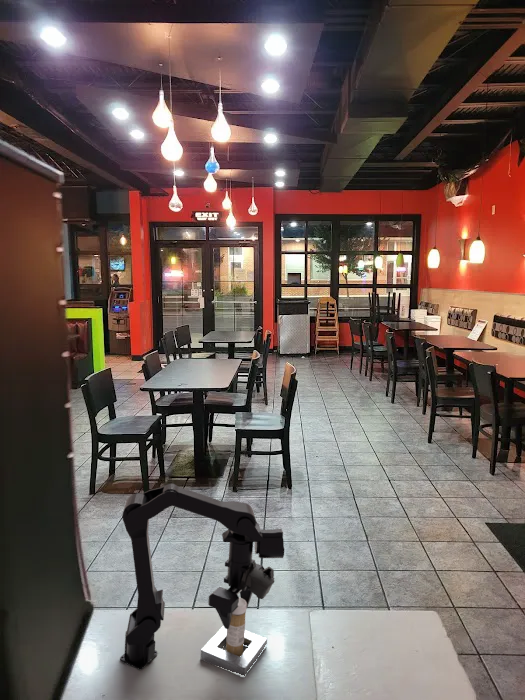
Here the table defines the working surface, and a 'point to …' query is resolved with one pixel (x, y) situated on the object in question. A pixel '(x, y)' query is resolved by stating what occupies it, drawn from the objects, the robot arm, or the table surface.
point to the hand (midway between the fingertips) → (236, 618)
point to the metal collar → (228, 660)
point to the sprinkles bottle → (237, 629)
